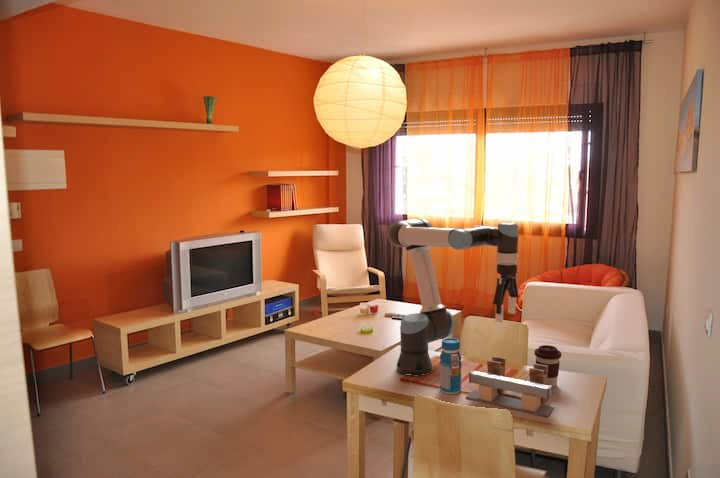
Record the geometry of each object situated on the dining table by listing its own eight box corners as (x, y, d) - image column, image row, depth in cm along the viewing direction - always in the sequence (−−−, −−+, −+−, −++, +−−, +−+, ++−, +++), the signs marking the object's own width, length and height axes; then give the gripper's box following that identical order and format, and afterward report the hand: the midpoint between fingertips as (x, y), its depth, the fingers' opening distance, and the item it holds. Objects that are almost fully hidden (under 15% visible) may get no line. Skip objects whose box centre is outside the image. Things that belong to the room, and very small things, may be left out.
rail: (469, 382, 207) (469, 372, 206) (472, 379, 210) (473, 369, 209) (548, 399, 191) (549, 388, 190) (551, 395, 194) (551, 385, 193)
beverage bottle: (437, 393, 211) (437, 342, 209) (442, 384, 219) (442, 336, 216) (459, 396, 208) (459, 344, 206) (463, 387, 216) (463, 338, 213)
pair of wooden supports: (485, 391, 212) (486, 360, 210) (491, 386, 217) (491, 355, 215) (543, 404, 200) (544, 371, 198) (548, 398, 205) (549, 366, 203)
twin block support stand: (465, 398, 206) (465, 384, 205) (473, 391, 213) (474, 377, 212) (547, 417, 190) (548, 401, 189) (553, 408, 196) (554, 393, 195)
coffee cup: (531, 386, 216) (532, 349, 214) (536, 378, 225) (537, 342, 223) (558, 391, 211) (559, 353, 209) (561, 382, 220) (563, 345, 218)
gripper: (505, 269, 198) (503, 327, 201) (527, 259, 218) (525, 311, 221) (485, 267, 202) (483, 323, 205) (509, 257, 222) (507, 308, 225)
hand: (505, 317), depth 213 cm, fingers open, 13 cm apart
